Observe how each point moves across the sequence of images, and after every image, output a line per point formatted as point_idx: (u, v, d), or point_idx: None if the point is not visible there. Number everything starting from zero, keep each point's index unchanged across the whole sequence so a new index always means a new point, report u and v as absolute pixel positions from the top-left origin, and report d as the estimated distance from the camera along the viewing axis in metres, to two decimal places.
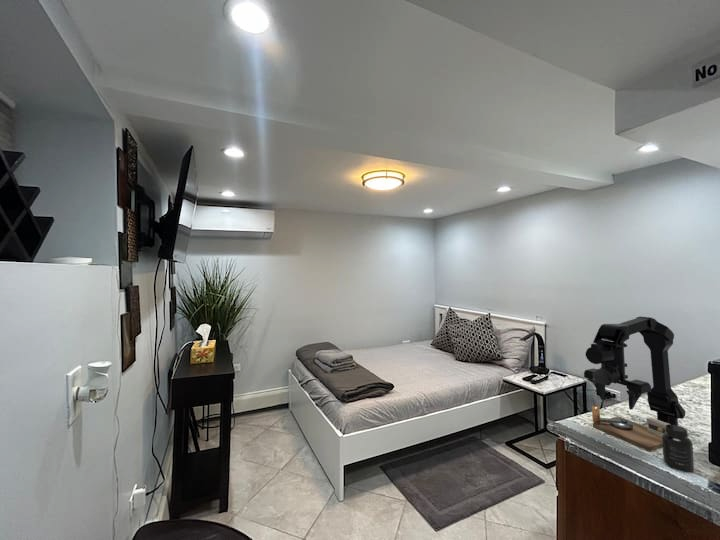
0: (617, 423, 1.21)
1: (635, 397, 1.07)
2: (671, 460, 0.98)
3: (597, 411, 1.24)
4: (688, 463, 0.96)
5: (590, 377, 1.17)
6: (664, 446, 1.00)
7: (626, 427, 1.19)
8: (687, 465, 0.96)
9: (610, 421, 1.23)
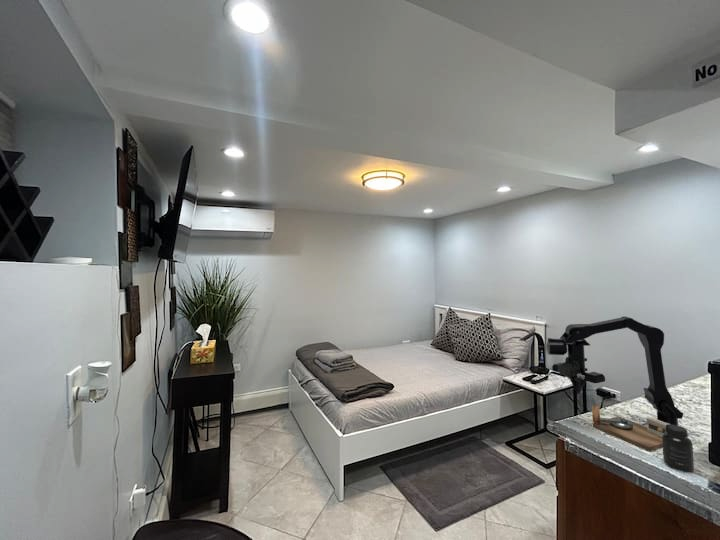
0: (617, 423, 1.21)
1: (581, 383, 1.29)
2: (671, 460, 0.98)
3: (597, 411, 1.24)
4: (688, 463, 0.96)
5: (557, 370, 1.36)
6: (664, 446, 1.00)
7: (626, 427, 1.19)
8: (687, 465, 0.96)
9: (610, 421, 1.23)
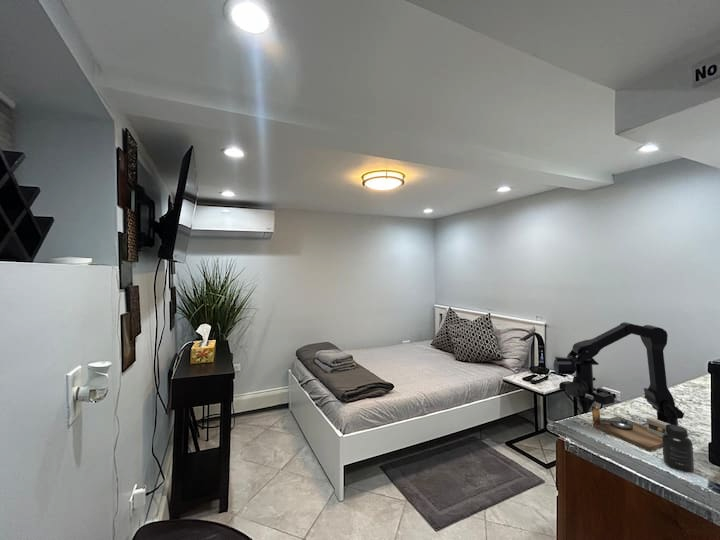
0: (617, 423, 1.21)
1: (589, 403, 1.27)
2: (671, 460, 0.98)
3: (597, 411, 1.24)
4: (688, 463, 0.96)
5: (564, 389, 1.33)
6: (664, 446, 1.00)
7: (626, 427, 1.19)
8: (687, 465, 0.96)
9: (610, 421, 1.23)
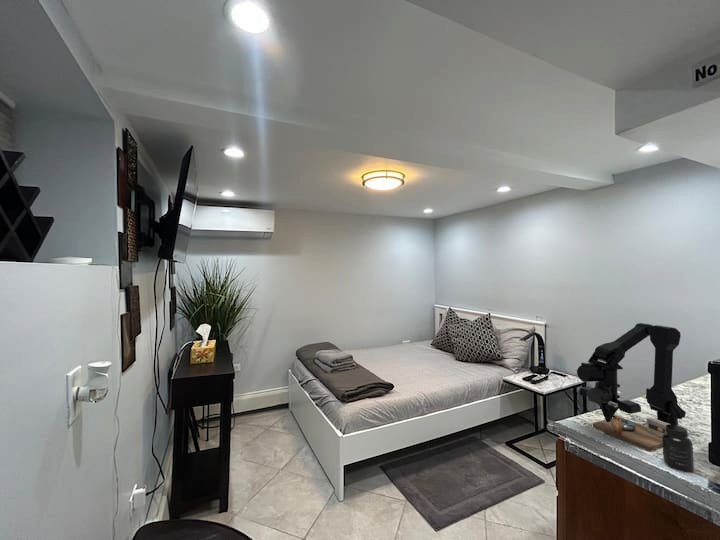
0: (628, 426, 1.19)
1: (612, 411, 1.18)
2: (671, 460, 0.98)
3: (621, 421, 1.15)
4: (688, 463, 0.96)
5: (584, 395, 1.24)
6: (664, 446, 1.00)
7: (635, 427, 1.19)
8: (687, 465, 0.96)
9: (623, 426, 1.18)
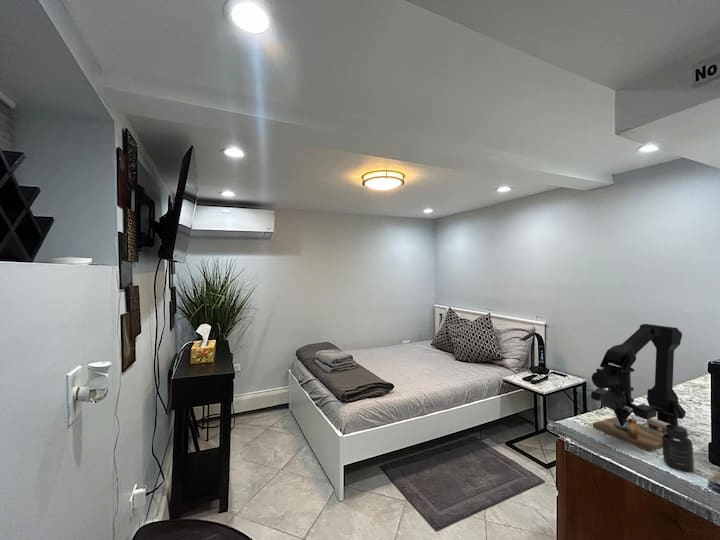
0: None
1: (626, 415, 1.15)
2: (671, 460, 0.98)
3: None
4: (688, 463, 0.96)
5: (597, 399, 1.21)
6: (664, 446, 1.00)
7: None
8: (687, 465, 0.96)
9: None
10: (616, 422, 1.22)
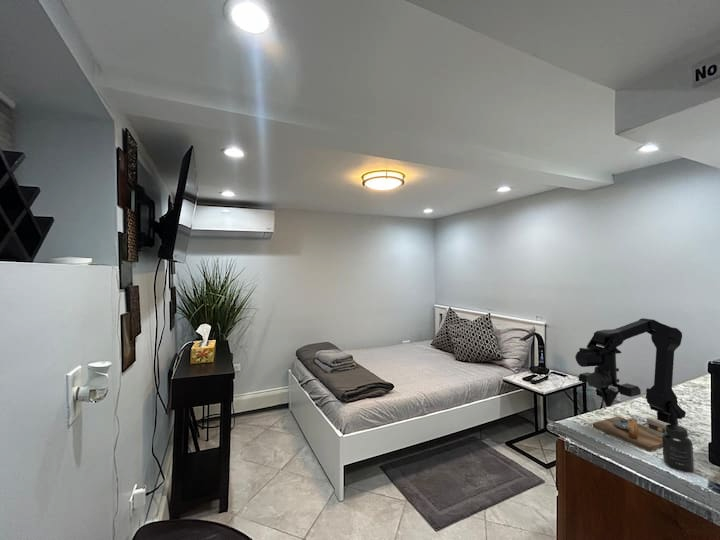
0: None
1: (612, 395, 1.18)
2: (671, 460, 0.98)
3: None
4: (688, 463, 0.96)
5: (584, 381, 1.24)
6: (664, 446, 1.00)
7: None
8: (687, 465, 0.96)
9: None
10: (616, 422, 1.22)
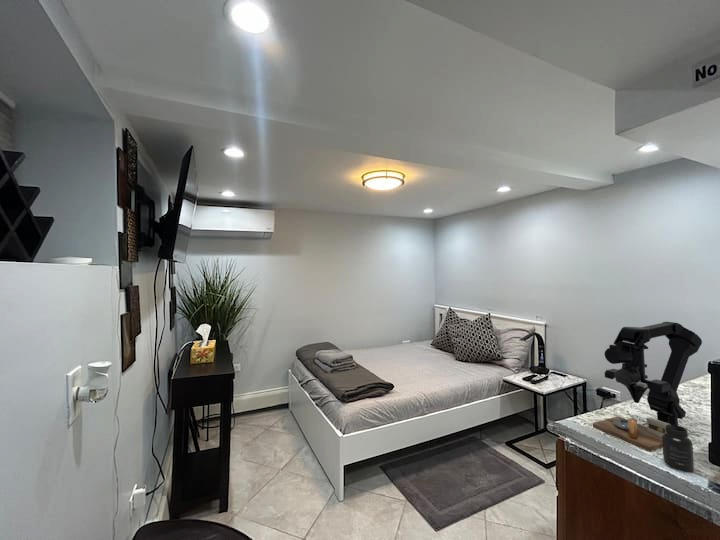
0: None
1: (641, 392, 1.17)
2: (671, 460, 0.98)
3: None
4: (688, 463, 0.96)
5: (611, 377, 1.24)
6: (664, 446, 1.00)
7: None
8: (687, 465, 0.96)
9: None
10: (616, 422, 1.22)
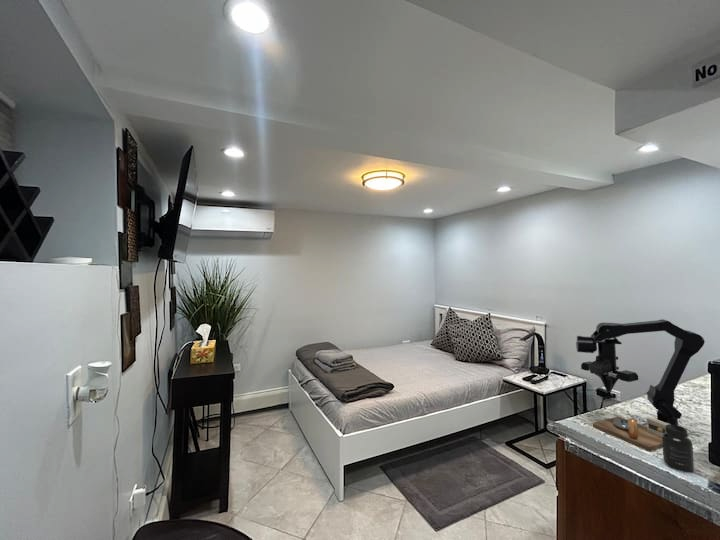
0: None
1: (612, 382, 1.28)
2: (671, 460, 0.98)
3: None
4: (688, 463, 0.96)
5: (586, 369, 1.35)
6: (664, 446, 1.00)
7: None
8: (687, 465, 0.96)
9: None
10: (616, 422, 1.22)
